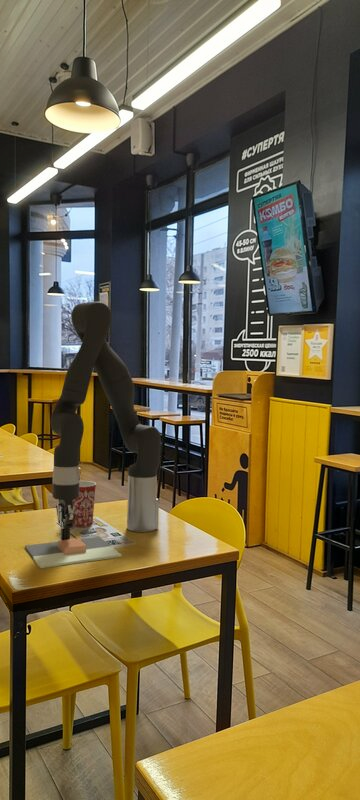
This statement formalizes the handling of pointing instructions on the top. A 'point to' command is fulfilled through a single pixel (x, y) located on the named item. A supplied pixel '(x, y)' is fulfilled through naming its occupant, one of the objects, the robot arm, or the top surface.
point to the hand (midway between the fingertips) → (65, 540)
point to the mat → (54, 556)
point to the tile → (71, 546)
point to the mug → (84, 504)
